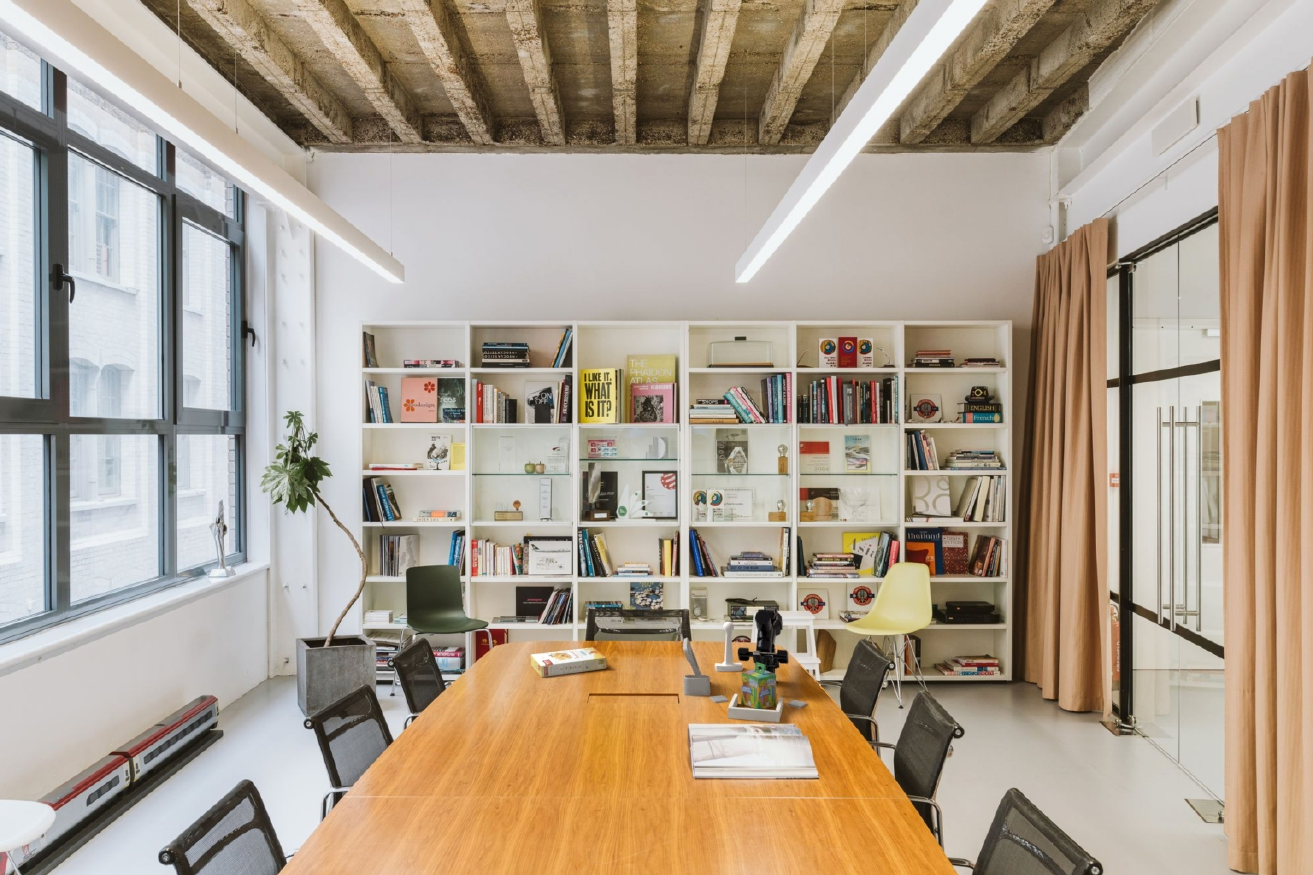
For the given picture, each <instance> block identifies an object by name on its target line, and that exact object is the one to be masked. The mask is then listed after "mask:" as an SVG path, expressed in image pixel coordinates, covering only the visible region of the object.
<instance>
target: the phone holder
mask: <svg viewBox="0 0 1313 875" xmlns="http://www.w3.org/2000/svg"><path fill="white" fill-rule="evenodd" d="M682 650H683V653H684V655H685V659H686V661H687V662H688V663H689V665H690V666H691V669H692V671H693V674H687V675H684V676H683V695H684V696H707V697H708V696H711V678H710V676H709V675H707V674H702V672H701V669H700V666H699V664H698V661H697V658H696V655H695V652H694V651H693V648H692V644H691V642H690V638H688V637H686V638H683V643H682Z"/></svg>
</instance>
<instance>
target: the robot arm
mask: <svg viewBox="0 0 1313 875" xmlns="http://www.w3.org/2000/svg"><path fill="white" fill-rule="evenodd" d="M754 621H755V625H756V629H757V635H756V646H755V650H753V651H750V649H749V647H743V646H742V647H741V646H740V647H738V648H737V658H738V661H739V662H749V660H750V658H752V663H754V666H755V665H756V663H761V664H764V665H765V666H766V667H765V670H766V671H769V672H771V673H774V674H776V670H777V669H779V668H780V664H785V665H788V664H789V657H790V656H789V651H788V650H787V649H776V645H775V644H776V638H777V636H779V635H781V633H782V631H783V630H784V629H783V628H784V625H783V624H784V622H783V616H782V615H781V614H780V613H779V612H778V608H777V607H772V606H771V607H768V606H767V607H765V608H764V609H763V608H761V609H760V608H759V609H758V611H757V612H756V614H755V616H754ZM758 669H762V667H760V666H759V667H758ZM778 683H779V681H778V680H776V684H778Z"/></svg>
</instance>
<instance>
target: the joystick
mask: <svg viewBox="0 0 1313 875" xmlns="http://www.w3.org/2000/svg"><path fill="white" fill-rule="evenodd" d="M722 629H723V631H724V632H725V639H724V640H725V642H724V643H725V644H724V661H722V663H719V662H718V663H717V662H715V663H714V669H715V672H723V673H725V672H727V673H728V672H742V671H743V663H742V662H734V657H733V656H734V654H733V642H732V641H733V640H732V632H733V631H734V629H735V627H734V624H733V622H732V621H726V622H724V624H723V626H722Z"/></svg>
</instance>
